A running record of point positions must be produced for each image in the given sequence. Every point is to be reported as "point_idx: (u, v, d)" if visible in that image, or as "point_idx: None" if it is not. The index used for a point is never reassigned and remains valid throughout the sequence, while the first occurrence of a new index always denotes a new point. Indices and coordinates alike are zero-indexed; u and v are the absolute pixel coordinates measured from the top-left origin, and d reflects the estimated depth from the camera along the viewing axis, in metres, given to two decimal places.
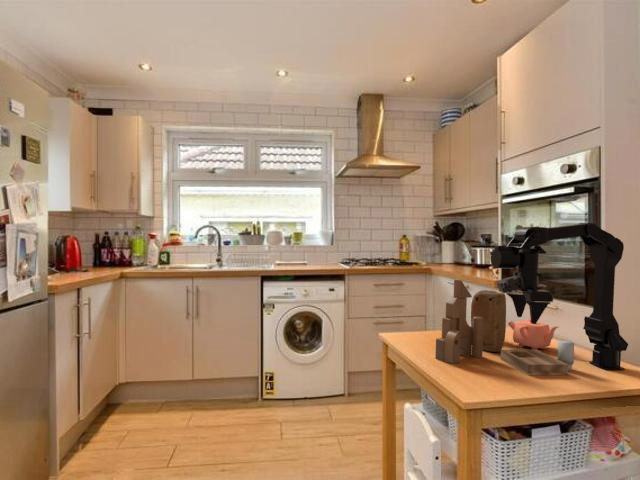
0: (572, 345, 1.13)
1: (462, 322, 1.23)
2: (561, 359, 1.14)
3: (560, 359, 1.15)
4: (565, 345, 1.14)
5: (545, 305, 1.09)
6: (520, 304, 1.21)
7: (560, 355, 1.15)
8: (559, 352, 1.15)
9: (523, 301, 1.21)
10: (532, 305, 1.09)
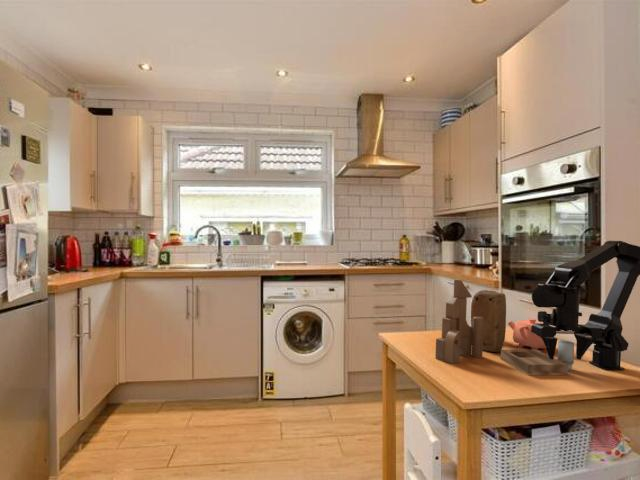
0: (572, 345, 1.13)
1: (462, 322, 1.23)
2: (561, 359, 1.14)
3: (560, 359, 1.15)
4: (565, 345, 1.14)
5: (550, 341, 1.13)
6: (580, 346, 1.15)
7: (560, 355, 1.15)
8: (559, 352, 1.15)
9: (583, 344, 1.14)
10: (543, 338, 1.16)
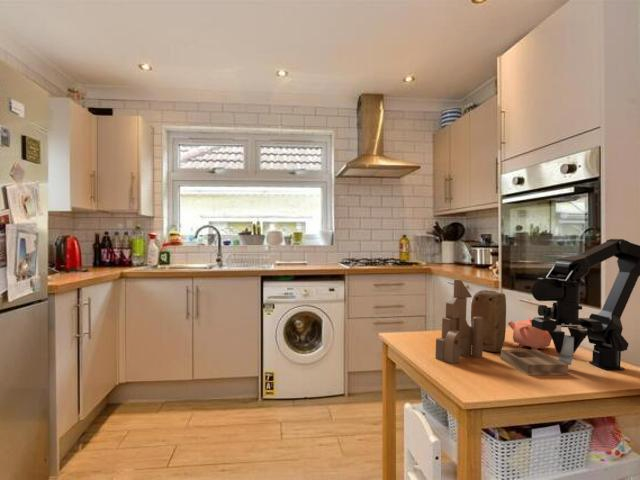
0: (572, 339, 1.13)
1: (462, 322, 1.23)
2: (561, 353, 1.14)
3: (560, 353, 1.15)
4: (565, 339, 1.14)
5: (558, 335, 1.13)
6: (574, 340, 1.15)
7: None
8: None
9: (576, 337, 1.14)
10: (550, 332, 1.16)
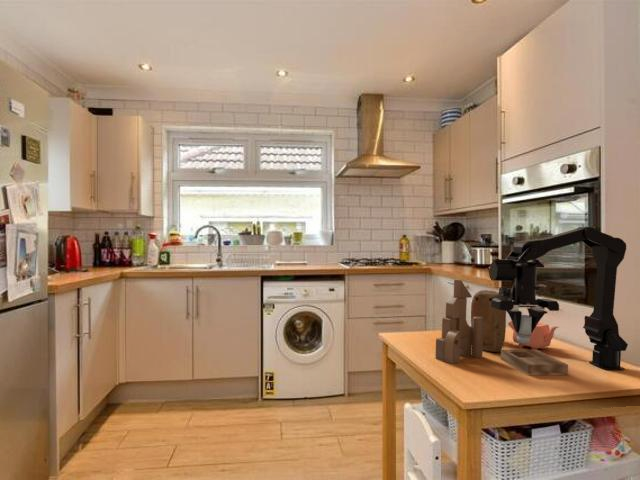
0: (529, 318, 1.16)
1: (462, 322, 1.23)
2: (519, 332, 1.17)
3: (518, 332, 1.18)
4: (523, 318, 1.17)
5: None
6: (532, 319, 1.18)
7: None
8: None
9: (534, 317, 1.17)
10: (509, 312, 1.19)
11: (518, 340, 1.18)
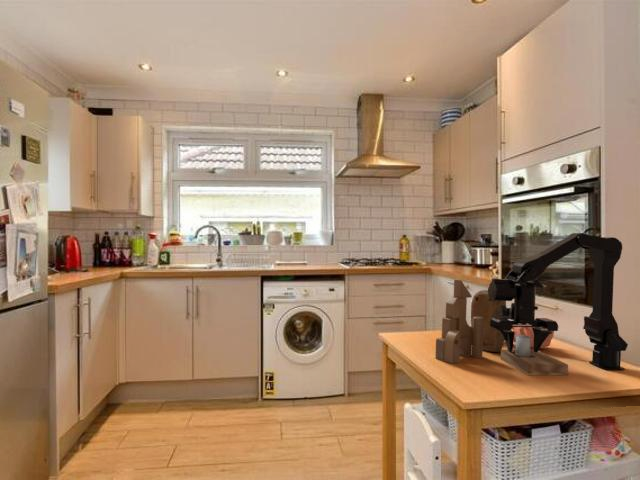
0: (528, 339, 1.17)
1: (462, 322, 1.23)
2: (518, 353, 1.18)
3: (517, 353, 1.18)
4: (521, 339, 1.17)
5: (508, 335, 1.16)
6: (536, 339, 1.18)
7: (517, 349, 1.18)
8: (516, 346, 1.18)
9: (539, 337, 1.17)
10: (502, 332, 1.19)
11: None
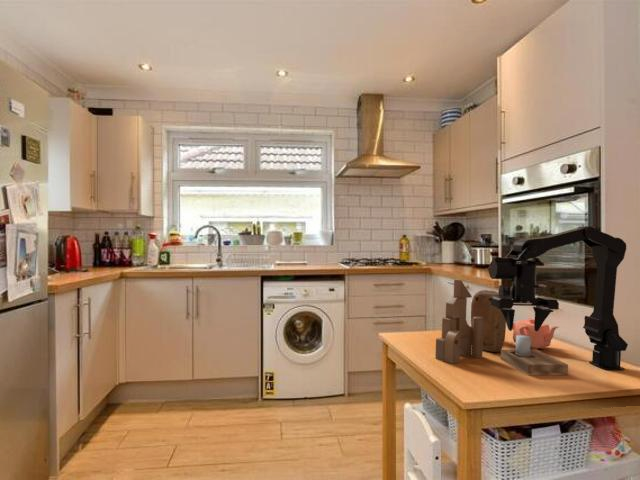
0: (528, 339, 1.17)
1: (462, 322, 1.23)
2: (518, 353, 1.18)
3: (517, 353, 1.18)
4: (522, 339, 1.17)
5: (508, 313, 1.16)
6: (537, 318, 1.18)
7: (517, 349, 1.18)
8: (516, 346, 1.18)
9: (540, 315, 1.17)
10: (502, 311, 1.19)
11: None
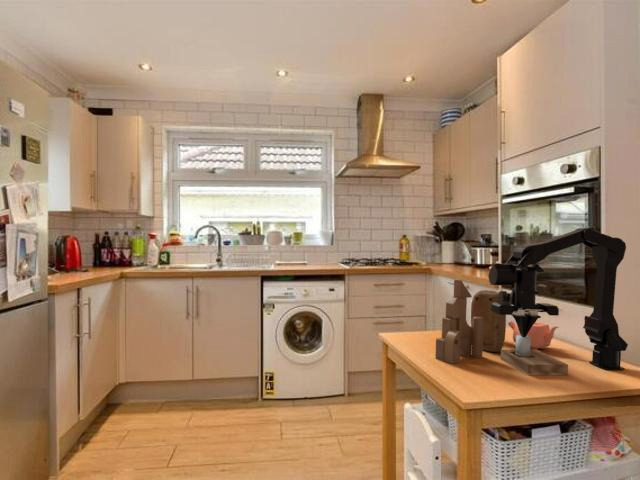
0: (528, 339, 1.17)
1: (462, 322, 1.23)
2: (518, 353, 1.18)
3: (517, 353, 1.18)
4: (522, 339, 1.17)
5: None
6: None
7: (517, 349, 1.18)
8: (516, 346, 1.18)
9: (527, 322, 1.17)
10: (514, 317, 1.19)
11: None
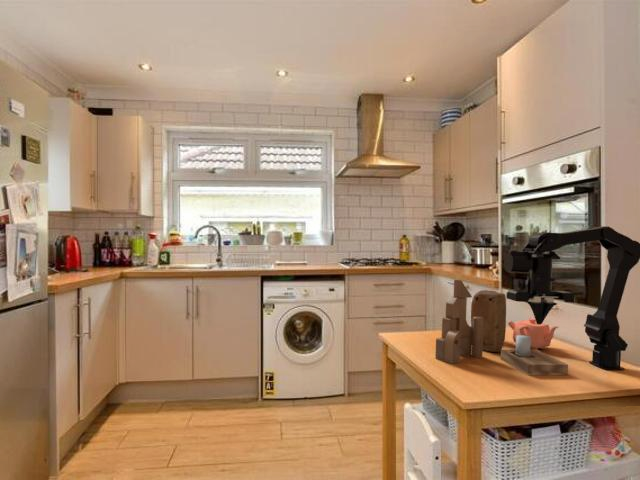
0: (528, 339, 1.17)
1: (462, 322, 1.23)
2: (518, 353, 1.18)
3: (517, 353, 1.18)
4: (522, 339, 1.17)
5: (537, 306, 1.16)
6: None
7: (517, 349, 1.18)
8: (516, 346, 1.18)
9: (543, 309, 1.17)
10: (530, 304, 1.20)
11: None
